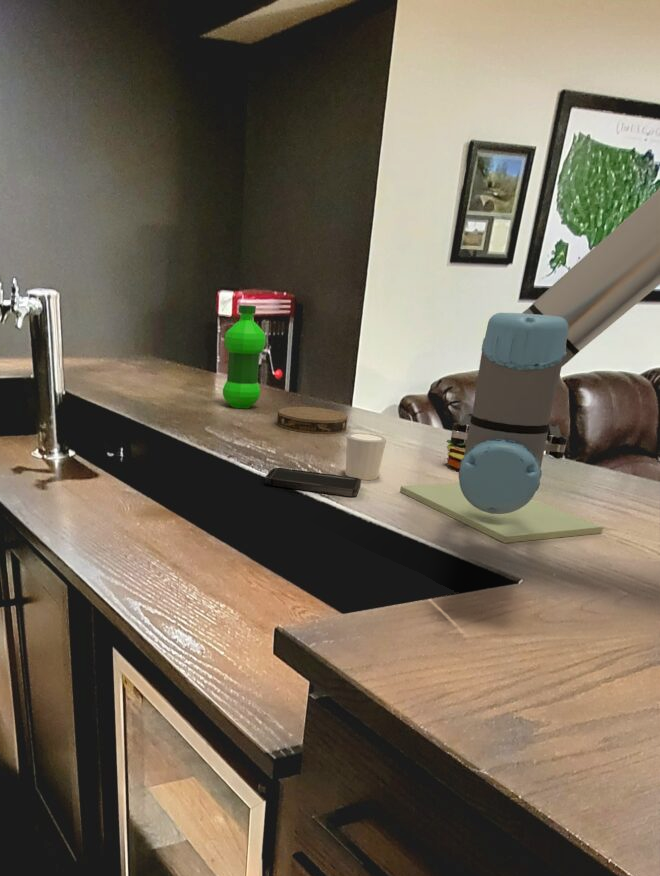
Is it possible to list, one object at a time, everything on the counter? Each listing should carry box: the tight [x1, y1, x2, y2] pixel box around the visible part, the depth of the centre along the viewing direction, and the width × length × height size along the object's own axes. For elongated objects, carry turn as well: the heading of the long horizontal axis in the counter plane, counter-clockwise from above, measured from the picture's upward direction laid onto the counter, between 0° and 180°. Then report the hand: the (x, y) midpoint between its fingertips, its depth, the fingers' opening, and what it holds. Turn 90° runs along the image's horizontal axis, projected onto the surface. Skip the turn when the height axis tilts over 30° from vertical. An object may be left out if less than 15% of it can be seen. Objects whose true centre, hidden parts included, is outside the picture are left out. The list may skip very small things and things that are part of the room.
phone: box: [264, 467, 362, 497], centre depth 119 cm, size 8×1×15 cm
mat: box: [399, 482, 604, 544], centre depth 111 cm, size 24×18×1 cm
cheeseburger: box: [446, 439, 466, 470], centre depth 136 cm, size 10×11×10 cm
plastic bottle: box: [222, 304, 267, 409], centre depth 182 cm, size 10×10×25 cm
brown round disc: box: [276, 406, 348, 435], centre depth 166 cm, size 16×16×3 cm
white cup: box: [345, 432, 387, 481], centre depth 126 cm, size 7×7×7 cm
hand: (511, 419), depth 104 cm, fingers closed on bottle, 4 cm apart
